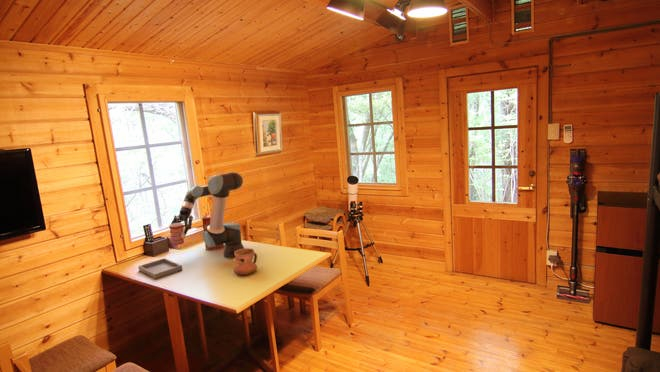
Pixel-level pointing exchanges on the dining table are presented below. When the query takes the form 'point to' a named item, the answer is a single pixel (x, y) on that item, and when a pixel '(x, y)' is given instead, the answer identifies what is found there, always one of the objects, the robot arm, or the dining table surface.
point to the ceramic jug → (245, 261)
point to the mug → (177, 233)
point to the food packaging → (205, 224)
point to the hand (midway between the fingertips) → (176, 237)
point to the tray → (160, 268)
